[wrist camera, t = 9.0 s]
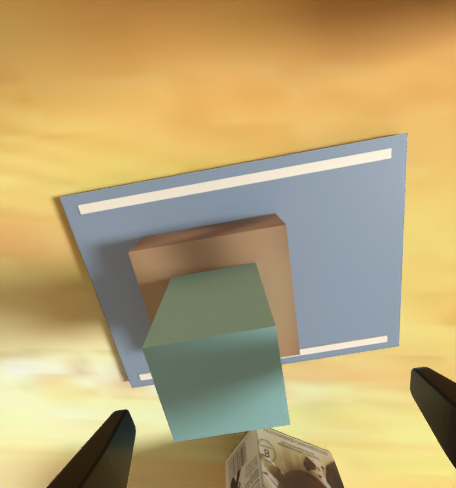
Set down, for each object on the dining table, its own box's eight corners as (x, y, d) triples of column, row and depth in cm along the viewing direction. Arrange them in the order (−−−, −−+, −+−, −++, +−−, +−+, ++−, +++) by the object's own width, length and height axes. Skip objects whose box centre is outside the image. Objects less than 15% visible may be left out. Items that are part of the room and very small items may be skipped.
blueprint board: (398, 134, 17) (408, 132, 16) (392, 339, 22) (399, 346, 21) (66, 195, 18) (58, 197, 17) (134, 380, 23) (131, 388, 22)
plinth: (275, 213, 17) (286, 224, 15) (289, 326, 20) (300, 354, 17) (143, 236, 18) (128, 252, 15) (174, 345, 21) (167, 375, 18)
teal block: (255, 262, 15) (275, 326, 10) (267, 333, 17) (290, 424, 11) (171, 277, 15) (141, 348, 10) (190, 346, 17) (174, 442, 11)
